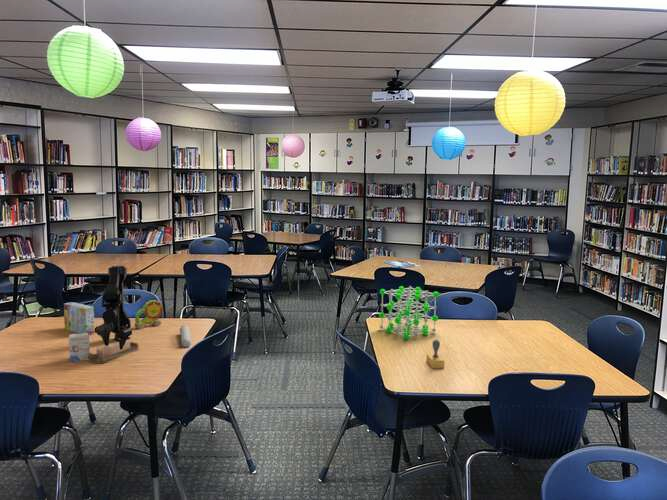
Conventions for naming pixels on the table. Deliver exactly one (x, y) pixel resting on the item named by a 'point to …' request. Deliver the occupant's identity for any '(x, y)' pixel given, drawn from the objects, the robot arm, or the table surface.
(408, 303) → the molecular structure model
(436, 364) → the rubber stamp
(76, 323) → the snack box
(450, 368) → the table surface
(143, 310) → the toy lion
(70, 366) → the table surface
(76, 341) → the ink box
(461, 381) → the table surface
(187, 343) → the tube
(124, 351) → the wooden tray
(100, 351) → the beige long block
